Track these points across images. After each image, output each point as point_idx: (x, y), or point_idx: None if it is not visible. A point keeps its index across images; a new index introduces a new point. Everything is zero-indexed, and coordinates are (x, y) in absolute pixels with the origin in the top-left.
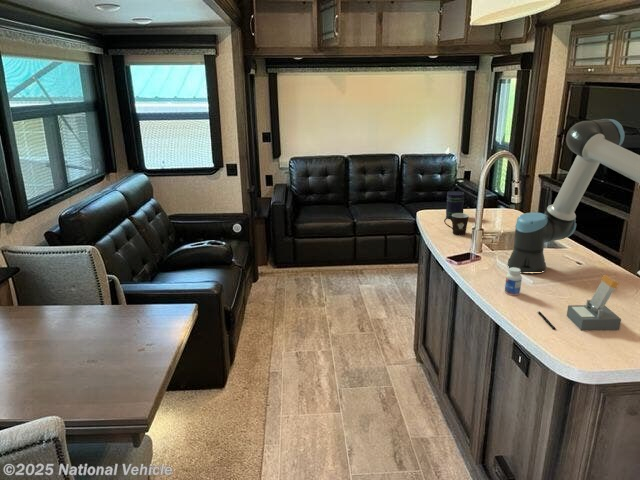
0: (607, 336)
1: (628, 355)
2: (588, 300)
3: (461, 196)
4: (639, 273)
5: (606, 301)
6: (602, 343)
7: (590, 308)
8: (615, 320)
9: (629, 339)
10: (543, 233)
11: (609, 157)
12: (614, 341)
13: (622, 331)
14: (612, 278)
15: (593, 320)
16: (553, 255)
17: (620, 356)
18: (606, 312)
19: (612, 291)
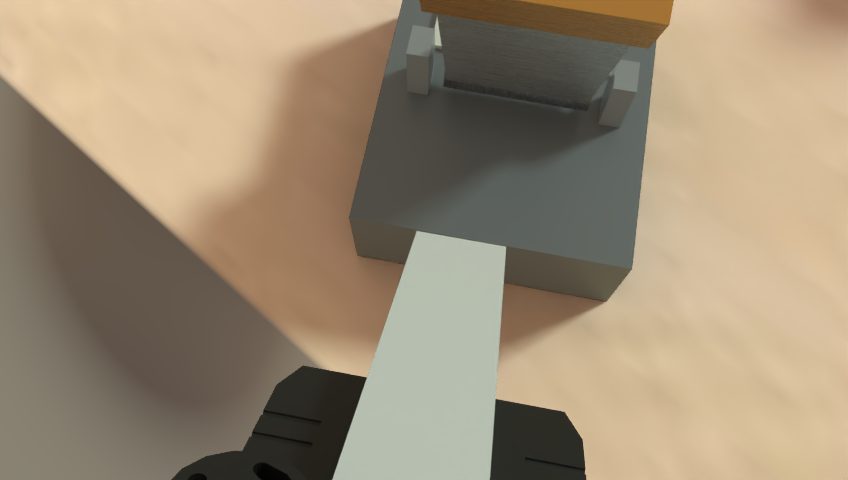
0: (301, 118)
1: (59, 81)
2: (623, 65)
3: None
4: (442, 241)
5: (444, 51)
6: (232, 32)
7: (580, 111)
8: (361, 181)
9: (221, 230)
10: None
11: None
12: (230, 117)
13: (335, 267)
14: (583, 6)
15: (397, 23)
16: None
17: (69, 31)
18: (485, 184)
19: (438, 15)
